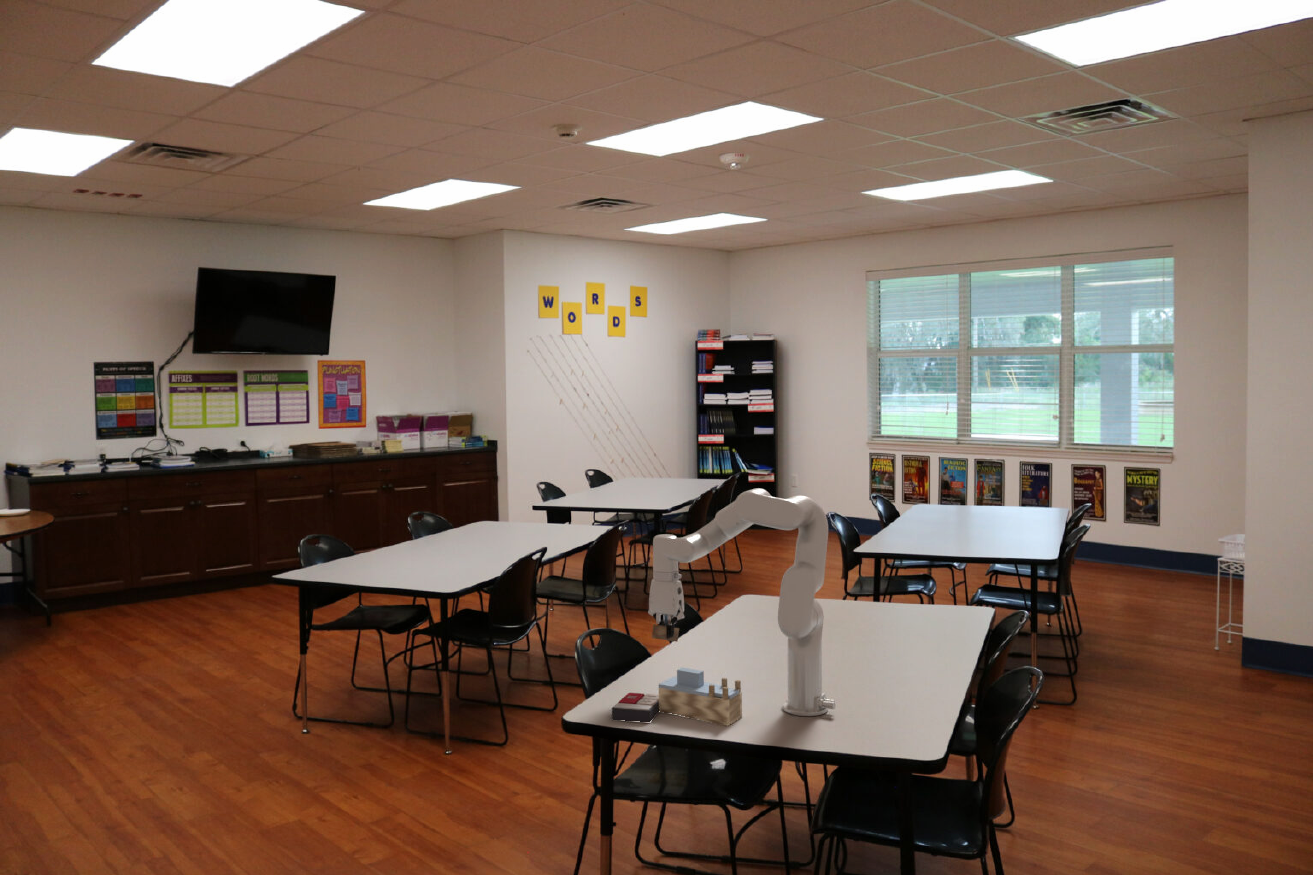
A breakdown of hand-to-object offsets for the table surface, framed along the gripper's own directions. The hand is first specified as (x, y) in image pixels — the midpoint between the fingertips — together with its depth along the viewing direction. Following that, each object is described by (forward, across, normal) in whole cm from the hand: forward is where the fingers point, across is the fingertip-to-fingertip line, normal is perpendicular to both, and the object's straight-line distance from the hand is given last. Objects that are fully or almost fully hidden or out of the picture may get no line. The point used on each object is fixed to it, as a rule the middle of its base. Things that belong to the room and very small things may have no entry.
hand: (666, 636), depth 278 cm
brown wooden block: (+1, 0, +1) cm, 1 cm away
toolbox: (+16, -20, +13) cm, 29 cm away
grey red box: (+17, -4, +20) cm, 27 cm away
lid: (+9, -19, +13) cm, 25 cm away
